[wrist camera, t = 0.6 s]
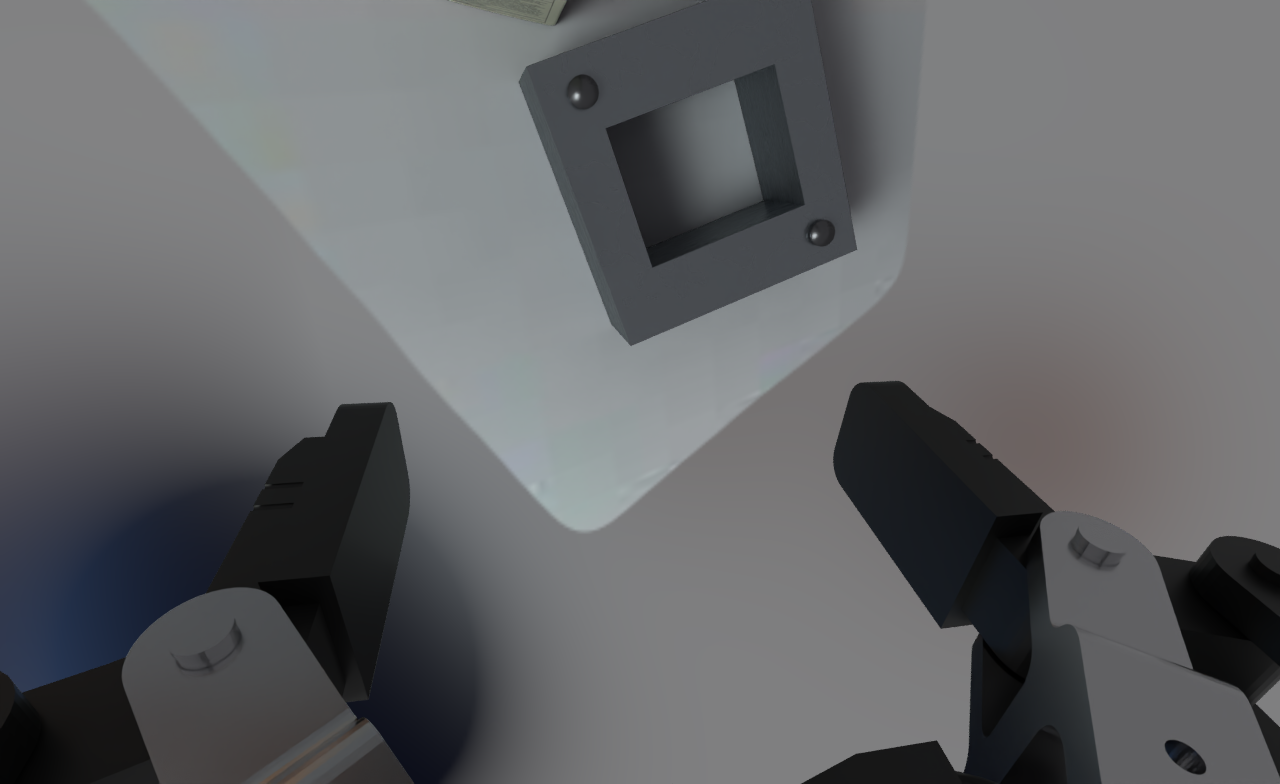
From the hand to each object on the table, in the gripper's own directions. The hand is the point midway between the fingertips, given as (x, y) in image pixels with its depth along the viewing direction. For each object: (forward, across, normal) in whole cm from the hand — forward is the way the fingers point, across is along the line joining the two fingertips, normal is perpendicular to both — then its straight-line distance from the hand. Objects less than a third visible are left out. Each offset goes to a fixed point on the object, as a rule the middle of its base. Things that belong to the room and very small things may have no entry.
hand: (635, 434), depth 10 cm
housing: (+27, -7, +1) cm, 28 cm away
